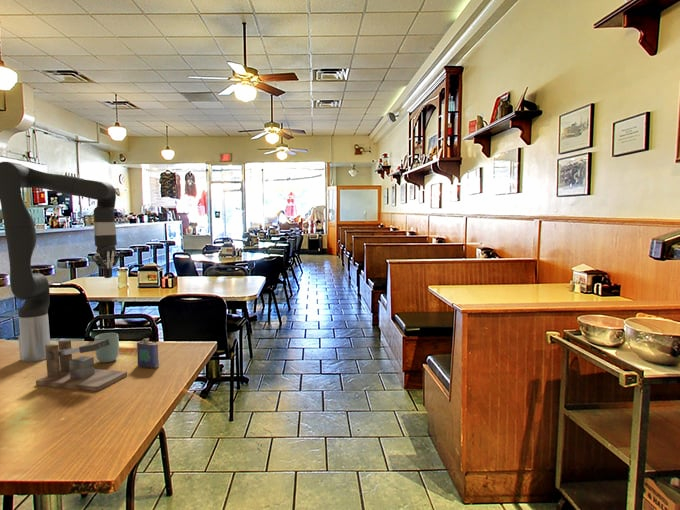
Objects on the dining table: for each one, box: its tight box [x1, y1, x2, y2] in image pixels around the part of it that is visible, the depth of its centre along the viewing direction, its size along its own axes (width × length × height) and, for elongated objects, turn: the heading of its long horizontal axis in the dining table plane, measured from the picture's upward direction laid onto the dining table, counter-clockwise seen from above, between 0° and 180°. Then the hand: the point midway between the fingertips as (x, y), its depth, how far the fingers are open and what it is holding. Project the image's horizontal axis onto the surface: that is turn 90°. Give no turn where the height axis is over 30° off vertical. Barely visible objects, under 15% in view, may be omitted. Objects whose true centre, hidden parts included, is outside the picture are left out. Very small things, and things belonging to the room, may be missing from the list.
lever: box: [59, 339, 110, 356], centre depth 141 cm, size 19×6×2 cm, turn 77°
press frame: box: [35, 339, 128, 392], centre depth 141 cm, size 24×13×12 cm, turn 77°
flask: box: [136, 337, 160, 369], centre depth 154 cm, size 9×3×11 cm, turn 68°
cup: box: [94, 332, 120, 364], centre depth 160 cm, size 8×8×10 cm
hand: (108, 277), depth 165 cm, fingers closed
